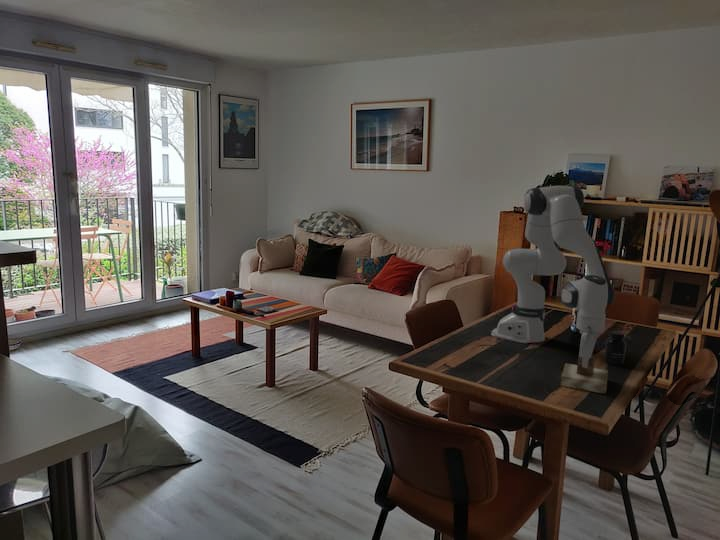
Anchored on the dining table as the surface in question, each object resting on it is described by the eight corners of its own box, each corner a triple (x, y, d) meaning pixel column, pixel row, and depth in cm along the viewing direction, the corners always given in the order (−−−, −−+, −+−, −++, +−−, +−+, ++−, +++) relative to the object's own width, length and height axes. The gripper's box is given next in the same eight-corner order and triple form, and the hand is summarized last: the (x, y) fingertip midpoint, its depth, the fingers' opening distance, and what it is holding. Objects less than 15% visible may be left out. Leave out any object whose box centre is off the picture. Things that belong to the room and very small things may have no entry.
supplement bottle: (615, 367, 205) (619, 336, 203) (600, 361, 211) (603, 331, 208) (627, 364, 208) (631, 334, 206) (612, 358, 214) (615, 329, 212)
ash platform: (560, 387, 185) (561, 375, 184) (564, 373, 198) (565, 363, 197) (605, 395, 179) (606, 383, 179) (606, 381, 192) (607, 370, 191)
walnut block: (576, 373, 187) (578, 356, 186) (577, 369, 191) (579, 352, 190) (592, 376, 185) (594, 359, 184) (593, 371, 189) (595, 355, 188)
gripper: (598, 333, 174) (593, 374, 177) (602, 318, 192) (598, 356, 194) (577, 330, 177) (572, 370, 179) (583, 316, 195) (579, 353, 197)
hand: (586, 362), depth 187 cm, fingers open, 8 cm apart
